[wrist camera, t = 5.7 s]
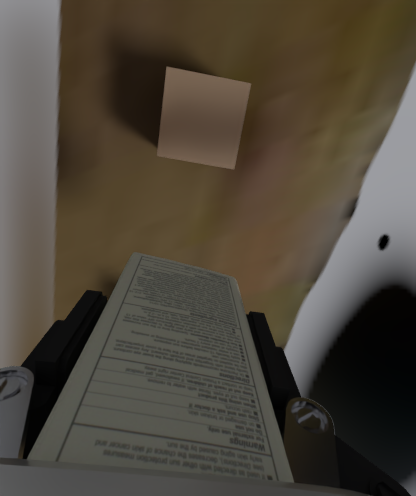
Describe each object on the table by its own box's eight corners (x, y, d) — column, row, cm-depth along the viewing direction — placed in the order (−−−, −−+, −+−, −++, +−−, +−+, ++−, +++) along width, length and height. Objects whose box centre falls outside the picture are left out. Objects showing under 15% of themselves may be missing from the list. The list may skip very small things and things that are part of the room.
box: (114, 325, 15) (-89, 772, 4) (133, 247, 13) (-105, 639, 3) (215, 349, 15) (246, 788, 5) (243, 277, 14) (365, 686, 4)
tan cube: (173, 82, 22) (166, 66, 17) (240, 95, 22) (251, 83, 18) (165, 152, 24) (156, 155, 19) (227, 163, 24) (234, 169, 19)
